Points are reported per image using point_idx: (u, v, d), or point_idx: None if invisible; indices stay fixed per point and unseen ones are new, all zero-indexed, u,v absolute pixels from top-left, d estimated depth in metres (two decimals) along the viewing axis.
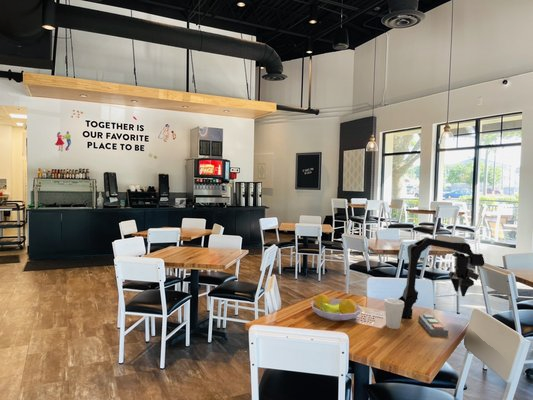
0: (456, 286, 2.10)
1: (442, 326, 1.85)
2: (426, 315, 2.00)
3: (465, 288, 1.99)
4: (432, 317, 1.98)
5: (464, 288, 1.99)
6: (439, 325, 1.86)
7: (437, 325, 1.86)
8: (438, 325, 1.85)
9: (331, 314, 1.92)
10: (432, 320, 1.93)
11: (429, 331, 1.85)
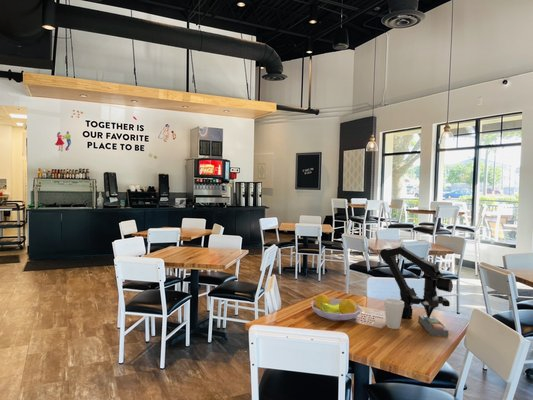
0: None
1: (442, 326, 1.85)
2: (426, 316, 2.00)
3: (426, 308, 1.99)
4: None
5: (426, 308, 2.00)
6: (439, 325, 1.86)
7: (437, 325, 1.86)
8: (438, 325, 1.85)
9: (331, 314, 1.92)
10: (432, 320, 1.93)
11: (429, 331, 1.85)
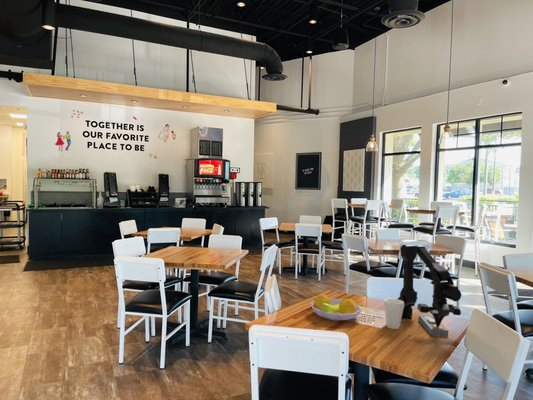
0: (438, 320, 1.86)
1: (441, 327, 1.85)
2: (426, 317, 2.00)
3: (435, 317, 1.85)
4: None
5: (435, 317, 1.86)
6: (439, 326, 1.86)
7: (436, 326, 1.86)
8: None
9: (331, 314, 1.92)
10: (432, 320, 1.93)
11: (429, 331, 1.85)
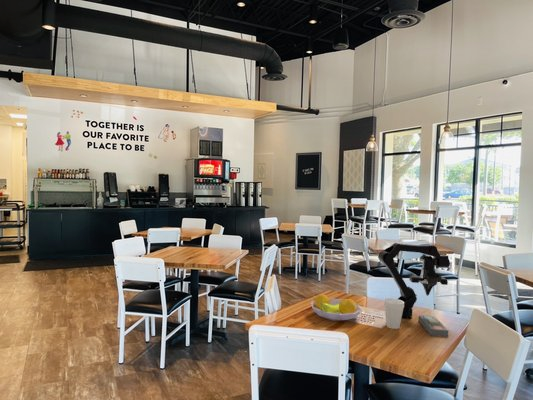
0: None
1: None
2: (426, 317, 2.00)
3: (425, 287, 2.09)
4: None
5: (425, 287, 2.09)
6: (439, 327, 1.86)
7: (436, 327, 1.86)
8: (438, 327, 1.85)
9: (331, 314, 1.92)
10: (432, 320, 1.93)
11: (429, 331, 1.85)
